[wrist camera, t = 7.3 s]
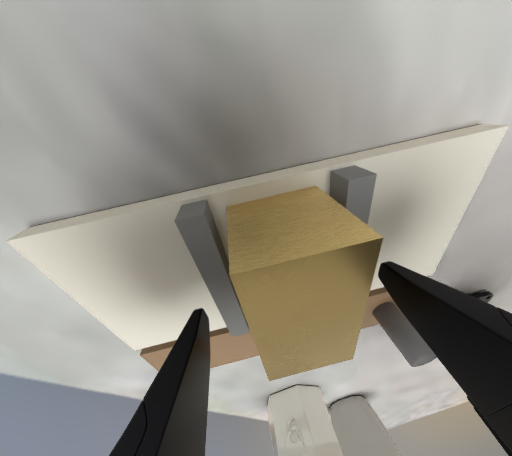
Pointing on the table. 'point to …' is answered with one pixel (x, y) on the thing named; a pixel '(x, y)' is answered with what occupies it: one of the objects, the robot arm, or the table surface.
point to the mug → (360, 429)
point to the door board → (217, 253)
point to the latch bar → (301, 277)
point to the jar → (301, 423)
